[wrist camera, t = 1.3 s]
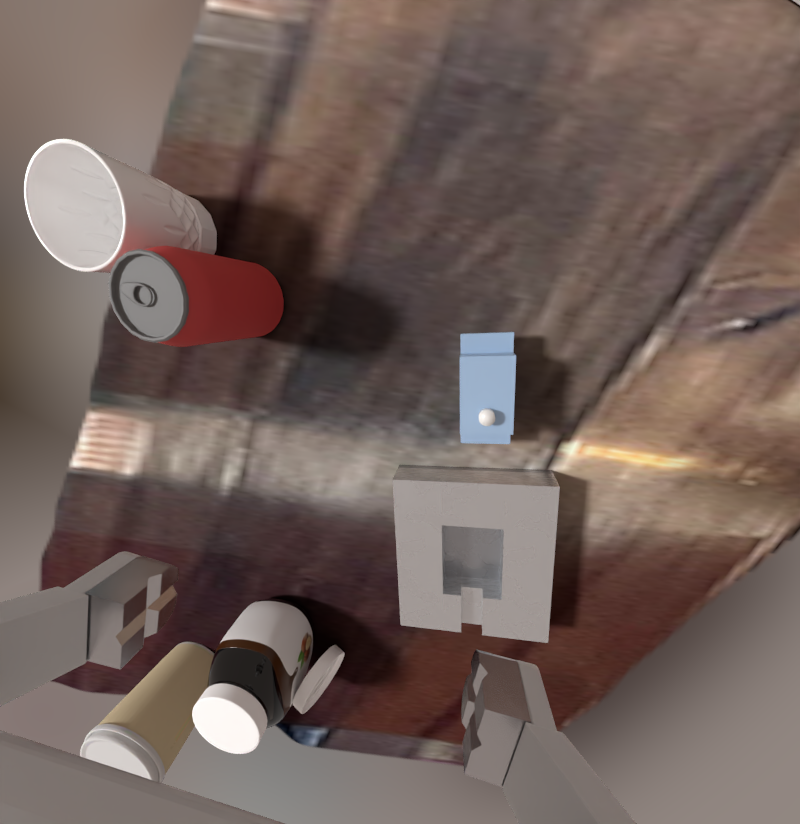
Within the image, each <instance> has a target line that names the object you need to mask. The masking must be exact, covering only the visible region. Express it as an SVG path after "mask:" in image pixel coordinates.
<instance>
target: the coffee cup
mask: <svg viewBox="0 0 800 824" xmlns="http://www.w3.org/2000/svg"><path fill="white" fill-rule="evenodd" d="M213 656H214V653H213V652H212V651H211V650H209V649H208V648H206V647H205V646H203V645H201V644H198V643H194V642H183V643H180V644H178V645H177V646H176V647H175V648H174V649H173V650H172V651H171V652H169V653H168V654H167V655H166V656H165V657H164V658H163V659H162V660H161V661H160V662H159V663H158V664H157V665H156V666H155V667H154V668H153V669H152V670H151V671H150V672H149V674H148V675H147V676H146V677H145V678H144V679H143V680H142V681H141V682H140V683H139V684H138V685H137V686H136V687H135V688H134V689H133V690H132V691H131V692H130V693H129V694H128V695H127V696H126V697H125V698H124V699H123V700H122V701H121V702H120V703H119V704H118V705H117V706H116V707H115V708H114V709H113V710H112V711H111V712H110V713H109V714H108V715H107V716H106V717H105V719H103V721H102V722H101V723H100V724H99V725H98V726H96V727H95V728H93V729H92V730H91V731H90V732H89V734H88V735H87V736H86V738H85V741H84V743H83V745H82V747H81V751H80V757H83V758H86V759H89V760H92V761H95V762H99V763H102V764H105V765H108V766H111V767H114V768H117V769H120V770H123V771H126V772H129V773H132V774H135V775H138V776H141V777H144V778H147V779H150V780H153V781H156V782H159V783H162V781H163V779H164V776H165V774H166V772H167V771H168V769H169V768H170V766H171V764H172V763H173V761H174V759H175V758H176V756H177V755H178V753H179V751H180V750H181V748H182V746H183V745H184V743H185V741H186V740H187V738H188V736H189V735H190V733H191V731H192V730H193V728H194V726H195V724H194V722H193V717H192V710H193V707H194V705H195V704H196V703H197V701H198V700H199V698H200V697H201V695H202V694H203V693H204V691H205V690H206V689H207V683H208V676H209V671H210V666H211V663H212V659H213Z"/></svg>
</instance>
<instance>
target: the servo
mask: <svg viewBox="0 0 800 824" xmlns="http://www.w3.org/2000/svg"><path fill="white" fill-rule="evenodd" d="M513 349H514V332H495V333H465V334H461V354H460V434H461V443H485V444H510V435H513V429H514V402H515V376H516V355H515V354H514V352H513Z"/></svg>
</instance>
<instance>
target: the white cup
mask: <svg viewBox="0 0 800 824" xmlns="http://www.w3.org/2000/svg"><path fill="white" fill-rule="evenodd" d="M24 196H25V204H26V209H27V213H28V216H29V220H30V222H31V225H32V227H33V229H34V231H35V233H36V235H37V237H38V238H39V240H40V241H41V243H42V244H43V246H44V247H45V248H46V250H47V251H48V252H49V253H50V254H51V255H52V256H53V257H54V258H56V259H57V260H58V261H59V262H61V263H62V264H64V265H66V266H67V267H70V268H72V269H75V270H78V271H85V272H106V273H111V269H112V267H113V266H114V264H115V262H116V261H117V259H118V258H119V257H121V256H122V255H123V254H125V253H126V252H128V251H132V250H136V249H142V250H144V249H148V248H152V247H157V246H172V247H178V248H183V249H188V250H193V251H198V252H203V253H208V254H212V255H214V254H215V252H216V249H217V231H216V228H215V226H214V223H213V220H212V217H211V215H210V213H209V212H208V211H207V210H206V209H205V207H204V206H203V205H202V204H201V203H200V202H199V201H198V200H196V199H194V198H192V197H190V196H188V195H185V194H183V193H181V192H179V191H178V190H176V189H174V188H172V187H171V186H170V185H168V184H166V183H164V182H162V181H160V180H158V179H156V178H154V177H152V176H150V175H148V174H146V173H144V172H142V171H140V170H138V169H136V168H134V167H131V166H129V165H127V164H125V163H123V162H120V161H118V160H116V159H114V158H112V157H110V156H108V155H106V154H104V153H102V152H99V151H97V150H95V149H93V148H91V147H89V146H86V145H84V144H82V143H80V142H77V141H74V140H70V139H57V140H53V141H50V142H48V143H46V144H44V145H43V146H42V147H40V148H39V149H38V150H37V151H36V153H35V154H34V156H33V157H32V159H31V160H30V163H29V165H28V168H27V171H26V176H25V183H24Z"/></svg>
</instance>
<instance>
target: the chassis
mask: <svg viewBox="0 0 800 824" xmlns="http://www.w3.org/2000/svg"><path fill="white" fill-rule="evenodd" d="M559 491H560V486H559V484H558V482H557V480H556V478H555V476H554V474H553V472H552V471H551V470H523V469H495V468H467V467H438V466H410V465H399V467H398V469H397V471H396V473H395V476H394V478H393V496H394V514H395V532H396V550H397V568H398V586H399V604H400V622H401V625H404V626H412V627H420V628H429V629H437V630H445V631H454V632H461V622H462V623H470V624H479V625H482V635H487V636H495V637H503V638H511V639H520V640H528V641H536V642H544V643H548V636H549V623H550V610H551V597H552V583H553V570H554V557H555V544H556V531H557V517H558V504H559Z"/></svg>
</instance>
